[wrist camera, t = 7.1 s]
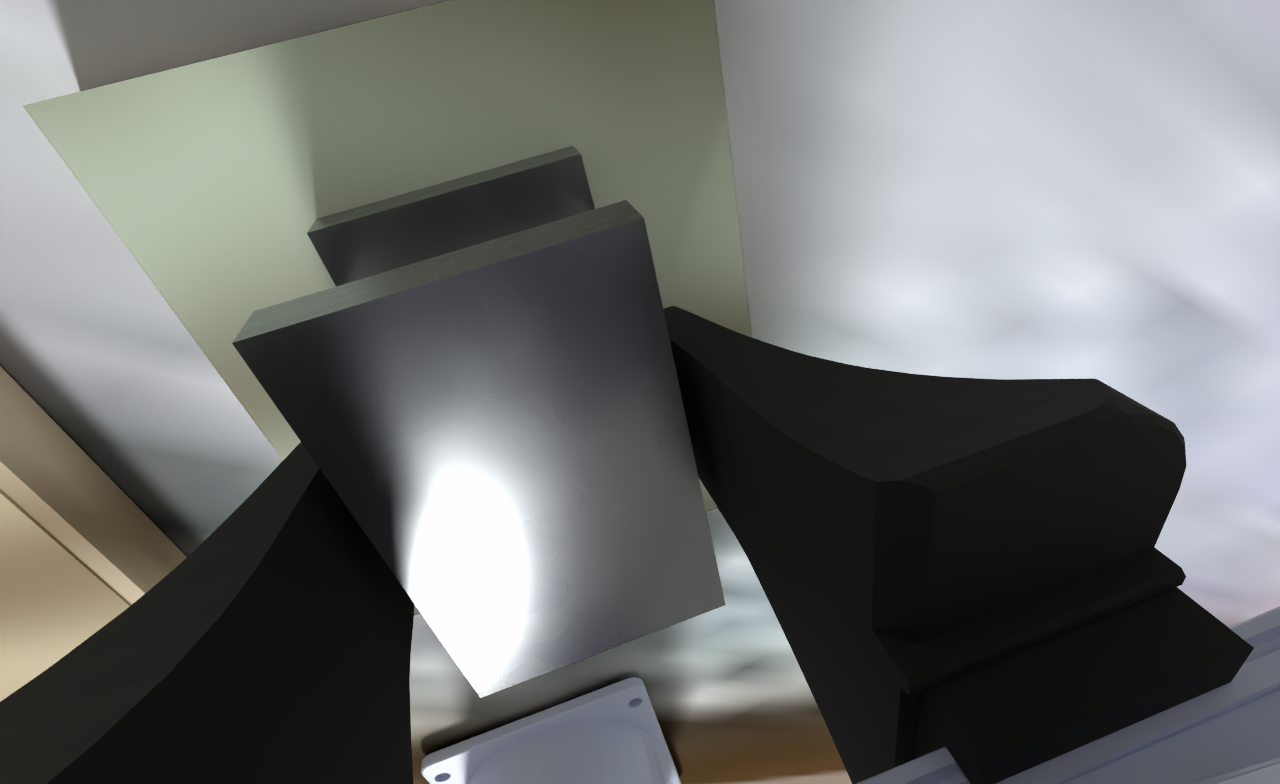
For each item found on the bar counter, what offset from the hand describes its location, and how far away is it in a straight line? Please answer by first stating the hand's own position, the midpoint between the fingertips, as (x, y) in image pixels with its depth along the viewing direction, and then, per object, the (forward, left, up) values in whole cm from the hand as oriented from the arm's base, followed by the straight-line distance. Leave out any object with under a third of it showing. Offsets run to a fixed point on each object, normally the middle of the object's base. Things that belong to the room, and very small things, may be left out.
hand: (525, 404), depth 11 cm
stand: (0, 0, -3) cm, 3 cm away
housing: (0, 0, -2) cm, 2 cm away
